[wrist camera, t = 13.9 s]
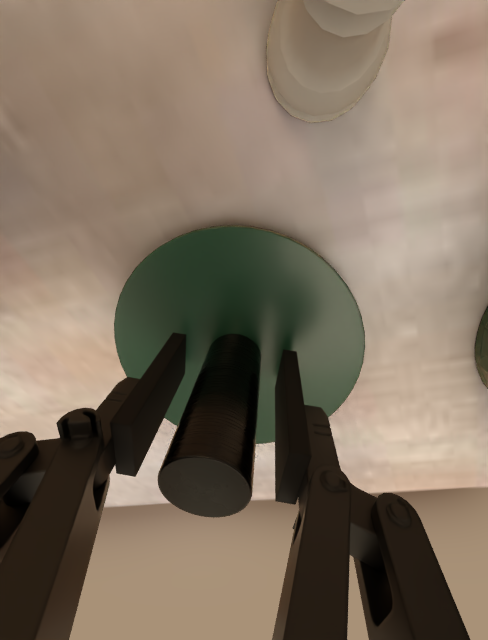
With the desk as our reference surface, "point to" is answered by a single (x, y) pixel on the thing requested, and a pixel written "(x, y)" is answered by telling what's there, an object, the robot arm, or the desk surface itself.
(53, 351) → the desk surface
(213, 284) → the lid
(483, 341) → the pot
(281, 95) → the rook chess piece
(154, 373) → the robot arm
